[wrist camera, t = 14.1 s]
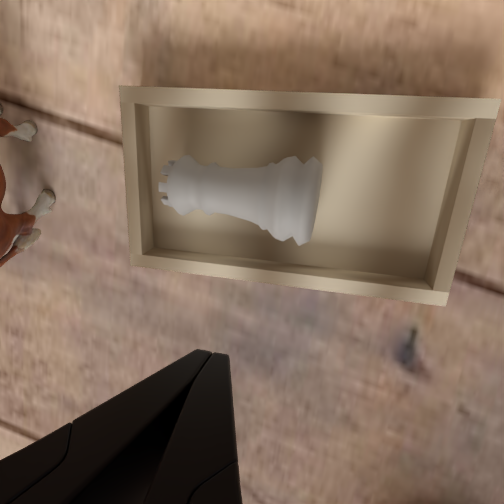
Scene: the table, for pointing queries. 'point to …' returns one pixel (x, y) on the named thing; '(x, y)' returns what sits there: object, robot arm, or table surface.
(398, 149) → the tray
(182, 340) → the table surface
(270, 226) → the rook chess piece
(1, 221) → the bull figurine
